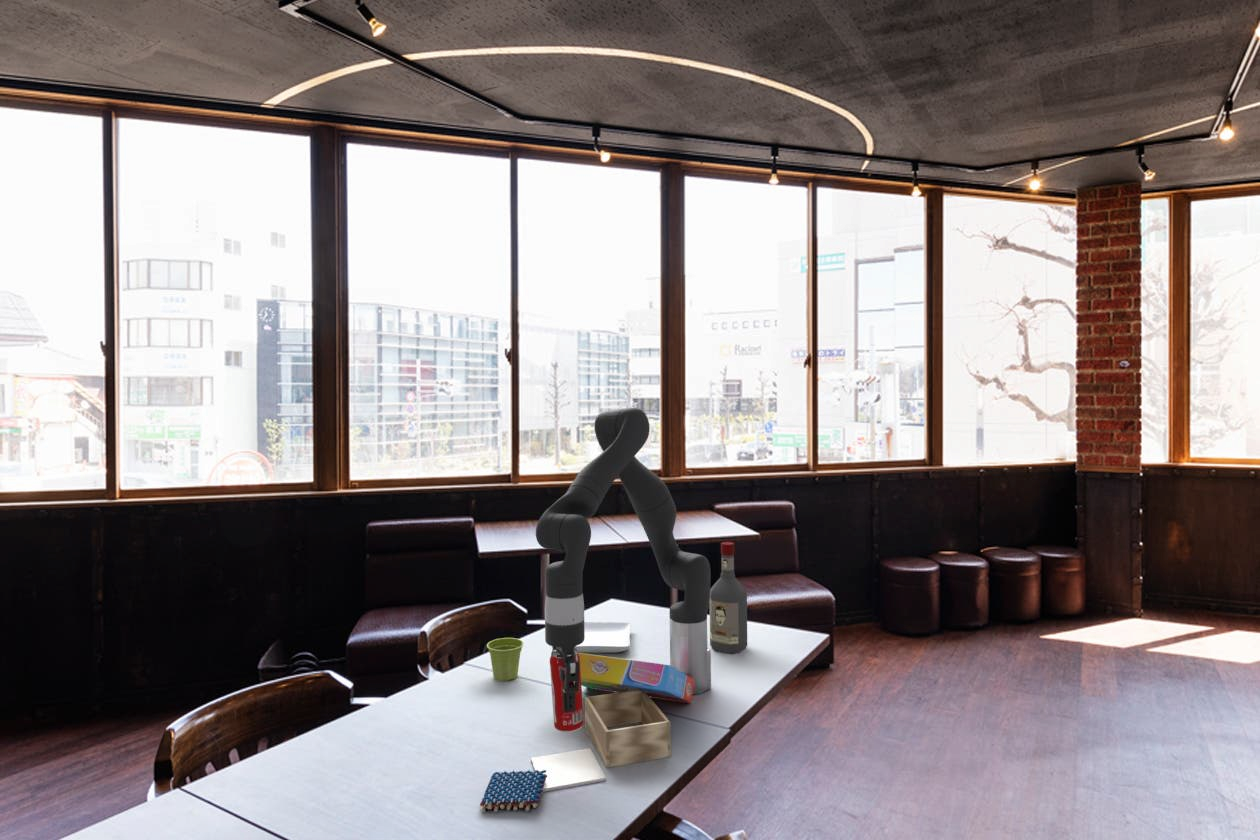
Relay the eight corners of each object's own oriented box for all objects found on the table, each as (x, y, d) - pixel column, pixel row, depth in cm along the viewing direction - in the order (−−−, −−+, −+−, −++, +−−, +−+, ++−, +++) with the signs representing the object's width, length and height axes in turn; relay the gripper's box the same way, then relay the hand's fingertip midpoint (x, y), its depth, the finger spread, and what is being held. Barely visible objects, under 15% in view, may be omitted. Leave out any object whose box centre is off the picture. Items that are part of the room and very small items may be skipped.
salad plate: (630, 657, 199) (630, 645, 199) (553, 658, 199) (553, 645, 199) (631, 632, 220) (631, 621, 220) (562, 633, 221) (561, 622, 221)
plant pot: (528, 670, 190) (527, 638, 189) (519, 684, 180) (518, 650, 180) (493, 669, 190) (492, 637, 190) (482, 683, 181) (482, 649, 181)
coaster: (589, 750, 146) (589, 748, 146) (605, 780, 134) (605, 777, 134) (531, 760, 142) (531, 757, 142) (542, 791, 131) (542, 789, 131)
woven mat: (491, 780, 135) (491, 769, 134) (548, 778, 134) (547, 767, 134) (478, 813, 124) (477, 801, 124) (539, 811, 124) (538, 799, 124)
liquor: (722, 640, 210) (721, 539, 210) (750, 646, 205) (749, 542, 204) (706, 649, 203) (705, 544, 202) (735, 656, 198) (734, 548, 197)
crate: (643, 720, 159) (642, 688, 159) (670, 756, 143) (670, 721, 143) (585, 729, 155) (584, 697, 155) (606, 767, 139) (606, 732, 139)
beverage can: (588, 722, 140) (586, 646, 140) (574, 737, 134) (573, 657, 134) (560, 718, 142) (559, 643, 142) (546, 732, 136) (544, 654, 136)
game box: (551, 674, 161) (666, 691, 151) (556, 649, 163) (669, 664, 153) (587, 687, 178) (692, 703, 168) (591, 665, 180) (695, 679, 170)
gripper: (592, 626, 132) (594, 717, 132) (575, 605, 145) (576, 687, 146) (552, 630, 129) (553, 723, 130) (538, 609, 143) (539, 692, 144)
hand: (565, 704), depth 138 cm, fingers closed on beverage can, 5 cm apart
